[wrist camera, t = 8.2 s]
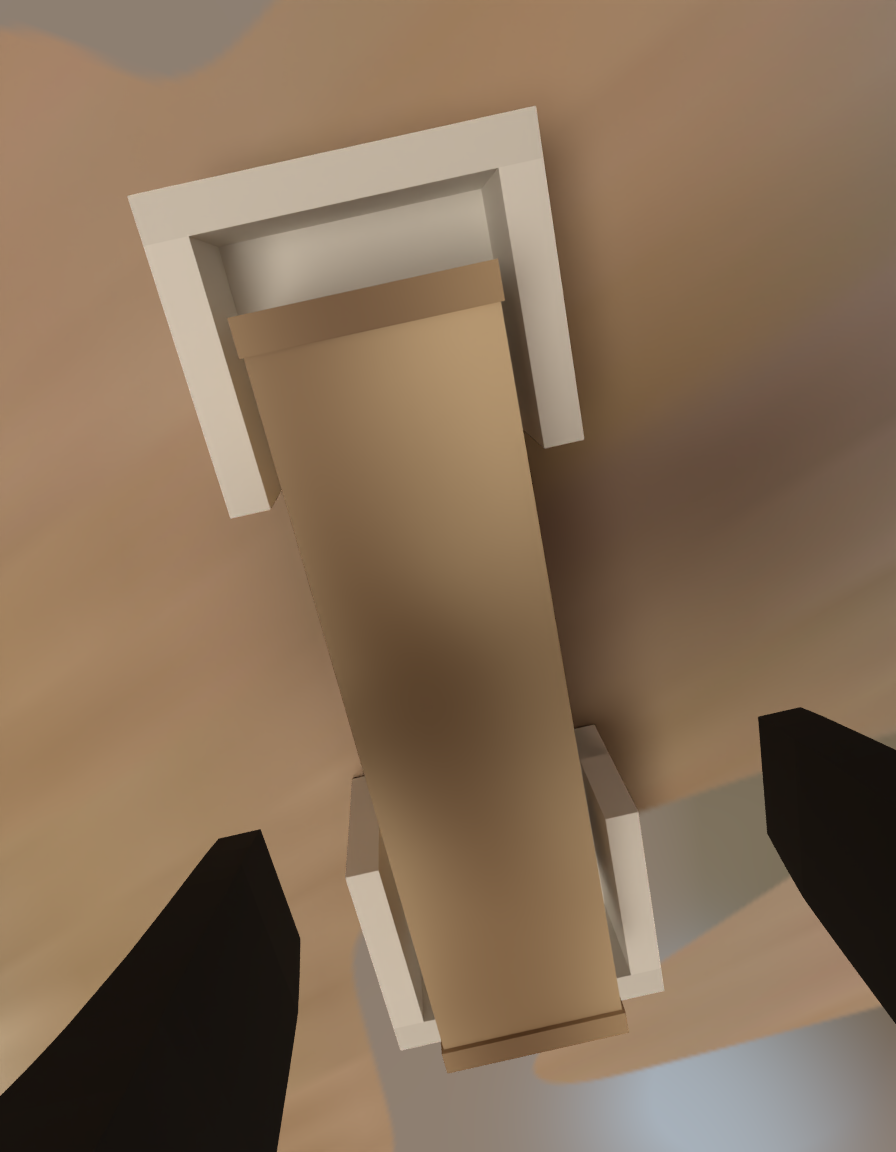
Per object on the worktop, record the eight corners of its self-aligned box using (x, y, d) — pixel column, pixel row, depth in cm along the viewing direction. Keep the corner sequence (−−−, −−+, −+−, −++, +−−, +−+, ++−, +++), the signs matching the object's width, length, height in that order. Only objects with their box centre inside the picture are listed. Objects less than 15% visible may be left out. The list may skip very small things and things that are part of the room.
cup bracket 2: (594, 724, 22) (638, 811, 18) (619, 882, 24) (664, 990, 20) (352, 778, 22) (345, 878, 18) (397, 932, 24) (400, 1050, 20)
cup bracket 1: (501, 151, 17) (535, 105, 13) (544, 413, 19) (584, 439, 15) (184, 221, 17) (127, 196, 13) (261, 475, 19) (230, 518, 15)
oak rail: (463, 273, 16) (498, 258, 11) (574, 871, 22) (628, 1032, 17) (273, 314, 16) (227, 318, 11) (433, 903, 22) (447, 1073, 17)
